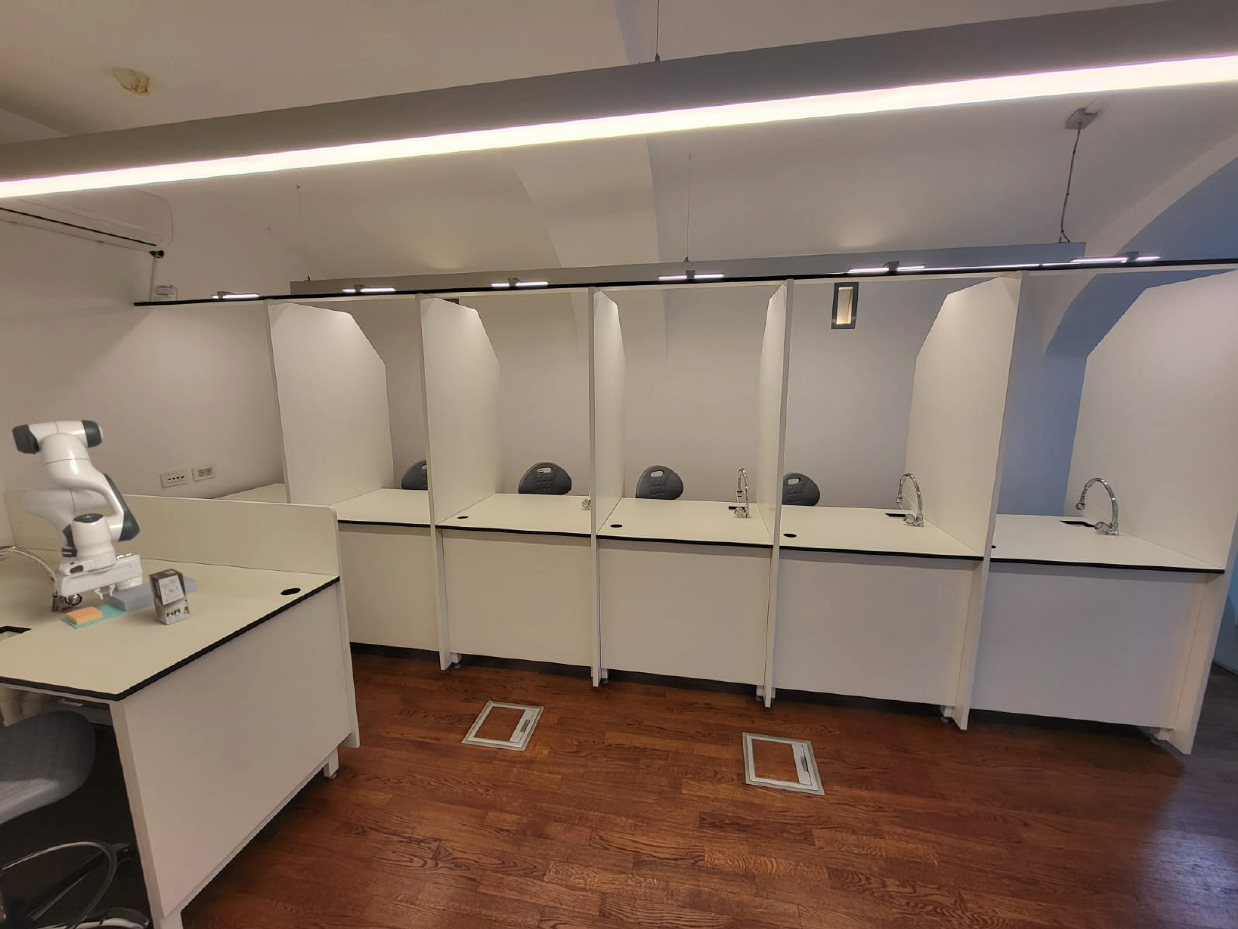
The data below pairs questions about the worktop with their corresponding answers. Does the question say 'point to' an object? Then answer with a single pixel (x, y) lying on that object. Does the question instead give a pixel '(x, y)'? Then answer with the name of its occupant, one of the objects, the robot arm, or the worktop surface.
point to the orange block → (84, 615)
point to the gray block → (141, 595)
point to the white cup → (129, 583)
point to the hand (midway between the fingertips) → (106, 597)
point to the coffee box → (169, 596)
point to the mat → (107, 613)
